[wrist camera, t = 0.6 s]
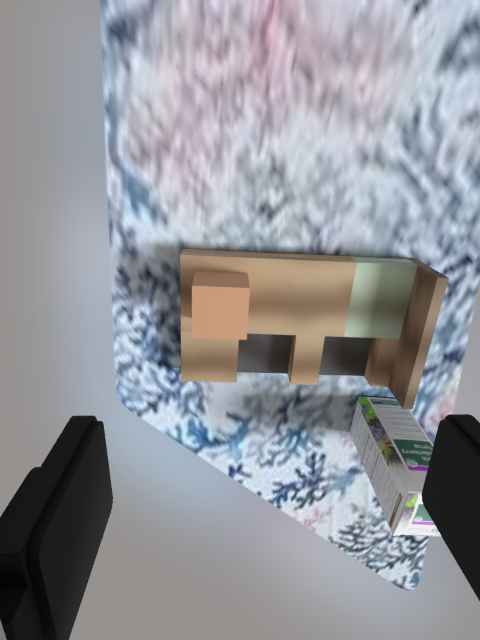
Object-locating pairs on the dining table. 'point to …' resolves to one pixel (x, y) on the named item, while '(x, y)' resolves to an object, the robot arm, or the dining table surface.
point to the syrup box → (394, 462)
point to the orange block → (220, 305)
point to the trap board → (319, 319)
